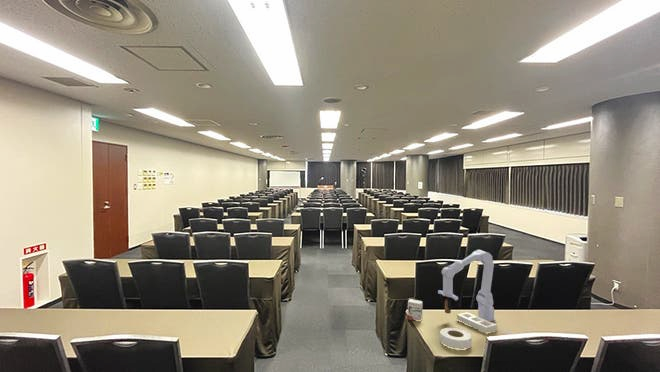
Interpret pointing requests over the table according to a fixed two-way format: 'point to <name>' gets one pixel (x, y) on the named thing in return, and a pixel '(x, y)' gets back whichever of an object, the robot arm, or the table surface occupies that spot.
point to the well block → (477, 322)
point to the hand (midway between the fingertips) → (447, 308)
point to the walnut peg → (447, 307)
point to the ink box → (414, 309)
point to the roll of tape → (455, 338)
